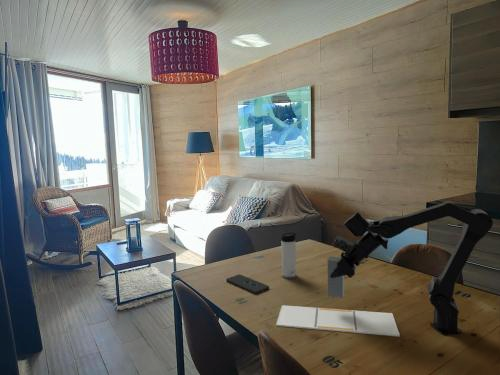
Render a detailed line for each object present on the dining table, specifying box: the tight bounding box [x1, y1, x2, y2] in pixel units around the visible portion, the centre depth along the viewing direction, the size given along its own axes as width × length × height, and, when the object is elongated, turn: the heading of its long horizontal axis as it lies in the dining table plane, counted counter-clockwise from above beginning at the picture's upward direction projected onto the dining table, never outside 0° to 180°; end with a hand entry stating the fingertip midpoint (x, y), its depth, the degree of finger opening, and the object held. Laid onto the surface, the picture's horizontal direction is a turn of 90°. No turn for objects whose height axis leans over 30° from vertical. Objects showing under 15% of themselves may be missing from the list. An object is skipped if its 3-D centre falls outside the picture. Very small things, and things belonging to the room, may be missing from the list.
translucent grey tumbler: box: [327, 256, 345, 299], centre depth 121 cm, size 5×4×13 cm
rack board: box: [275, 305, 401, 337], centre depth 117 cm, size 38×14×1 cm, turn 77°
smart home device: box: [225, 273, 270, 295], centre depth 149 cm, size 8×2×20 cm
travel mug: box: [280, 232, 297, 279], centre depth 156 cm, size 6×7×20 cm
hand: (332, 274), depth 121 cm, fingers closed on translucent grey tumbler, 4 cm apart
